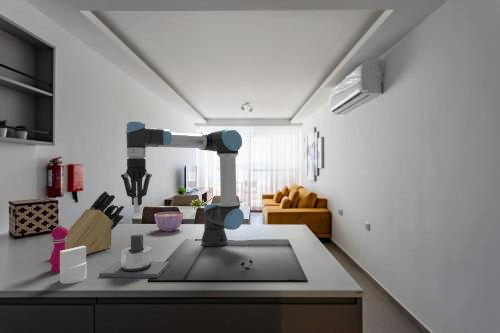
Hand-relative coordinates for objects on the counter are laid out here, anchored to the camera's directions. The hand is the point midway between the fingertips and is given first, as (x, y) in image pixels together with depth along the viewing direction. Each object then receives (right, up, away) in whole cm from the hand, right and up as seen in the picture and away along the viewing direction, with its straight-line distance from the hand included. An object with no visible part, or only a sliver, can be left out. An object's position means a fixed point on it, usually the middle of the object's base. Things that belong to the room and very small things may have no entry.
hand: (137, 212), depth 122 cm
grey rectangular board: (0, -25, 0) cm, 25 cm away
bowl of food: (-9, -25, +78) cm, 83 cm away
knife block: (-36, -25, +29) cm, 53 cm away
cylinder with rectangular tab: (-22, -25, -9) cm, 34 cm away
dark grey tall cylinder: (0, -22, 0) cm, 22 cm away
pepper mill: (-34, -25, +1) cm, 42 cm away
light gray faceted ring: (0, -23, 0) cm, 23 cm away
